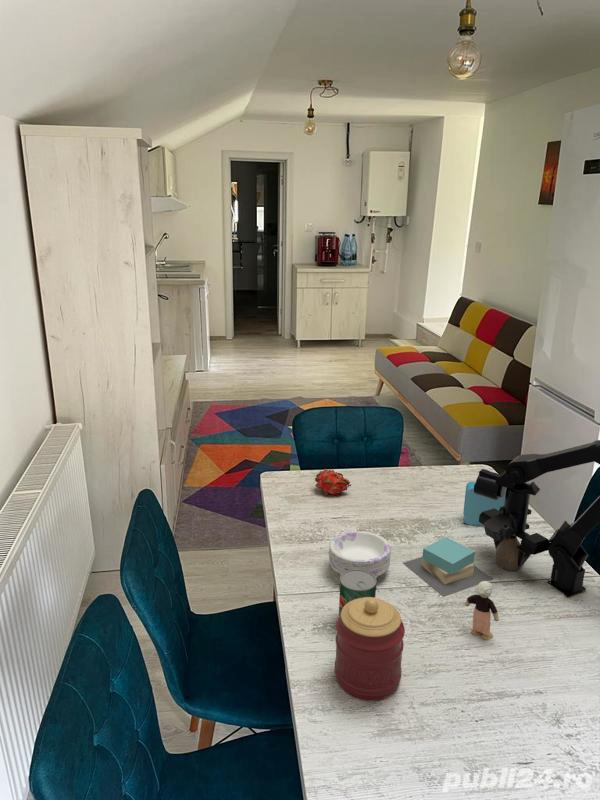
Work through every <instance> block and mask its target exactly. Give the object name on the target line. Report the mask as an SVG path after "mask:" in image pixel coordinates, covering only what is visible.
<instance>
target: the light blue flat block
mask: <svg viewBox="0 0 600 800" xmlns="http://www.w3.org/2000/svg"><path fill="white" fill-rule="evenodd" d="M475 483H476V481H469V482H467V483H466V486H465V493H464V494H465V495H464V503H463V504H464V505H463V512H462V513H463V514H462V515H463V520H464V523H465V524H466V525H469V526H476V527H477V526H478V527H484V525H483V524H481V523H480V522H479V515H480V513H481V512H483V511H487V510H490V509H494V508H495V509H497V510H498V511H499V509H500V507H502V506H504V502H505V494H506V491H505V494H504V496H503V497H502V498H501V497H500V498H499V499H498V500H494V499H491V498H487V497H484V496H481V495H477V494H475V493H474V484H475Z"/></svg>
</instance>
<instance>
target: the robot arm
mask: <svg viewBox="0 0 600 800" xmlns="http://www.w3.org/2000/svg"><path fill="white" fill-rule="evenodd" d="M590 463H596V464H598V465H600V439H596V440H594V441H592V442H588V443H586V444H584V443H583V444H580V445H578V446H577V445H576V446H572V447H569V448H565V449H561V450H557V451H553V452H549V453H543V454H542V453H541V454H538V453H529V454H527V453H526V454H519V455H518V456H516V457H515V458H514V459H513V460H511V461H510V462H509V463H508V464H507V465H506V468H505V470H504V471H503V472H502V473H498V472H493V471H490V470H488V469H485V468H482V469H480V470H479V471H478V476H477V477H476V480H475V482H476V483H475V484H474V493H475V494H477V495H481V496H484V497H487V498H491V499H494V500H498V499H499V498H500V497H501V498H502V497H503V496H504V494H505V491H506V494H505V502H504V506H502V507H500V509H499V511H498V510H497V509H495V508H494V509H490V510H487V511H483V512H481V513H480V515H479V522H480V523H481V524H483V525H484V526H483V529H484V533H485V535H486V536H487V537H490V538H491V539H493V544H494V548H495V549H496V548H497V546H498V544H499V543H500V542H501V541H502V540H503V539H505V540H508V539H509V538H511V537H512V536H513V535H515V536H517V539H520V544H521V545H519V546H516V547H517V548H518V550H519V557H518V567H519V568H522V567H523V566H524V565H525V563H526V562H527V560H528V559H529V558H530V557H531V556H532V555H533V556H535V555H538V554H541V553H543V552H546V551H548V554H549V556H550V557H551V559H552V561H553V564H552V568H551V574H550V575H551V576H550V580H547V581H546V583H547V584H549V585H550V586H552V587H553V588H554V589H556V590H557V591H559V592H561V593H562V594H563V595H564V596H565V597H567V598H570V597H573V596H576V595H578V594H581V593H584V592H585V591H586V590H587V588H586V587H585V586H584V579H585V573H586V569H585V568H584V566H583V565H584V563H585V562H586V560H587V558H588V557H589V553H588V552H587V551H586V550H585V549H584V547H583V546H582V543H583V541H585V539H586V537H587V536H588V535H589V533H591V532H592V530H594V528H596V526H598V524H600V495H599V496H598V497H597V498H596V499H595V500H594V501H592V503H591V504H590V505H589V507H587V509H586V510H585V511H584V512H583V513H582V514H581V515H580V516H579V517H578V518H577V519H576V521H574V522H572V523H568V521H567V520H565V521H564V522H563V523H562V524H561V526H559V528H557V529H555V531H554V532H553V533H552V535H551V536H550V538H549V539H548V538H547V537H546V536H543V535H542V534H540V533H538V532H535V533H532V534H530V533H528V532H526V530H529V529H530V524H529V523H527V521H528V515H532V512H533V511H532V509H530V508H529V505H530V498H531V496H536V495H537V494H538V493H539V492H540V491H541V489H540V487H539V486H538V485H537V484H536V483H535V482H534V481H532V480H535V479H537V478H539V477H541V476H542V475H544V474H546V473H550V472H555V471H559V470H564V469H568V468H573V467H577V466H580V465H581V466H582V465H585V464H590ZM530 481H532V482H530ZM529 482H530V483H529ZM519 568H518V569H519Z"/></svg>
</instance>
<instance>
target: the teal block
mask: <svg viewBox="0 0 600 800" xmlns="http://www.w3.org/2000/svg"><path fill="white" fill-rule="evenodd" d="M422 556H423V557H422ZM422 556H421V557H422V559H424V560H425V561H427V562H429V563H431V564H433V565H435V566H436V567H438V568H440V569H442V570H444V571H445V572H447V573H449V574H451V575H452V574H454V573H456V572H458V571H459V570H461V569H463V568H464V567H466V566H468V565H470V564H471V563H472V564H474V563H475V556H476V550H473V549H471V548H469V547H466V546H465V545H463V544H461V543H458V542H457V541H454V540H453V539H451V538H449V537H448V536H445V537H443V538H440V539H439V540H437V541H435V542H433V543H431V544H429V545H427V546H426V547H423V548H422Z"/></svg>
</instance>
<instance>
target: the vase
mask: <svg viewBox="0 0 600 800" xmlns="http://www.w3.org/2000/svg"><path fill="white" fill-rule="evenodd" d="M518 539H519V538H518V537H517V536H515V535H513V536H512V537H511V538H509V539H508V540H505V539H503V540H502V541H501V542H500V543H499V544H498V546H497V548H495V560H496V562H497V565H498V566H499V567H500V568H502V569H504V570H506V571H516V570H519V567H518V557H519V550H518V548H517V547H516V546H519V545H521V541H519V540H518Z"/></svg>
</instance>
